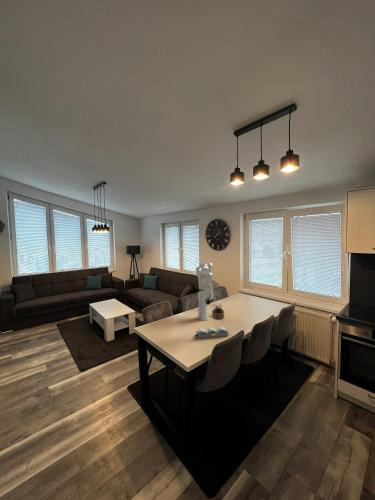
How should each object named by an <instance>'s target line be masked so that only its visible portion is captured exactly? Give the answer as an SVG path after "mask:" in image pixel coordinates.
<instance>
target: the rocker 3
mask: <svg viewBox="0 0 375 500" xmlns="http://www.w3.org/2000/svg"><path fill="white" fill-rule="evenodd" d="M216 329H220V330H224V331H228V329H227V328H225V327H223V326H217V328H216Z"/></svg>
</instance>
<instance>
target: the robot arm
mask: <svg viewBox="0 0 375 500" xmlns="http://www.w3.org/2000/svg"><path fill="white" fill-rule="evenodd" d="M213 268H214V266H213V264H212V263H211V262H201V263H200V264H199V266H197V267H196V268H195V273H196V277H197V280H198V281H197V282H198V289H199V290H200V291H198V292H197V298H198V300H197V301H198V309H197V310H198V316H197V317H196V319H197V320H198V321H207V320H208V319H209V316H208V312H207V311H208V306H209V305H210V304H211V303H210V302H211V300H212V299H214V288H213V273H212V271H213Z"/></svg>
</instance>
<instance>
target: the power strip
mask: <svg viewBox="0 0 375 500" xmlns="http://www.w3.org/2000/svg"><path fill="white" fill-rule="evenodd" d="M215 329H216V330H217V332H214V331H210V330H209V329H206V330H207V331H208V333H204V332H200V331H199V330H198V331H197V330H196V332H195V334H194V337H196V338H197V339H198V340H203V339H213V338H221V337H228V336H229V331H228V330H227V331H224V330H220V329H218V328H215Z"/></svg>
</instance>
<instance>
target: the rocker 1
mask: <svg viewBox="0 0 375 500" xmlns="http://www.w3.org/2000/svg"><path fill="white" fill-rule="evenodd" d="M207 330H208V329H205V328H204V329H203V328H201V327H198V331H200V332H204V333H208V331H207Z"/></svg>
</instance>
